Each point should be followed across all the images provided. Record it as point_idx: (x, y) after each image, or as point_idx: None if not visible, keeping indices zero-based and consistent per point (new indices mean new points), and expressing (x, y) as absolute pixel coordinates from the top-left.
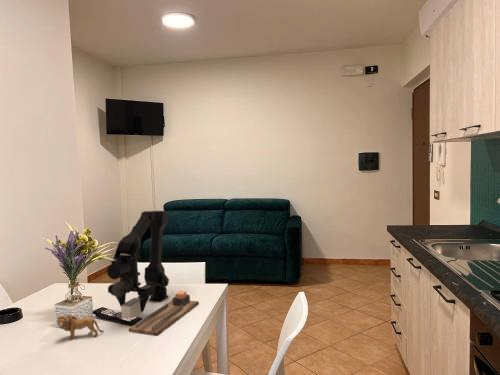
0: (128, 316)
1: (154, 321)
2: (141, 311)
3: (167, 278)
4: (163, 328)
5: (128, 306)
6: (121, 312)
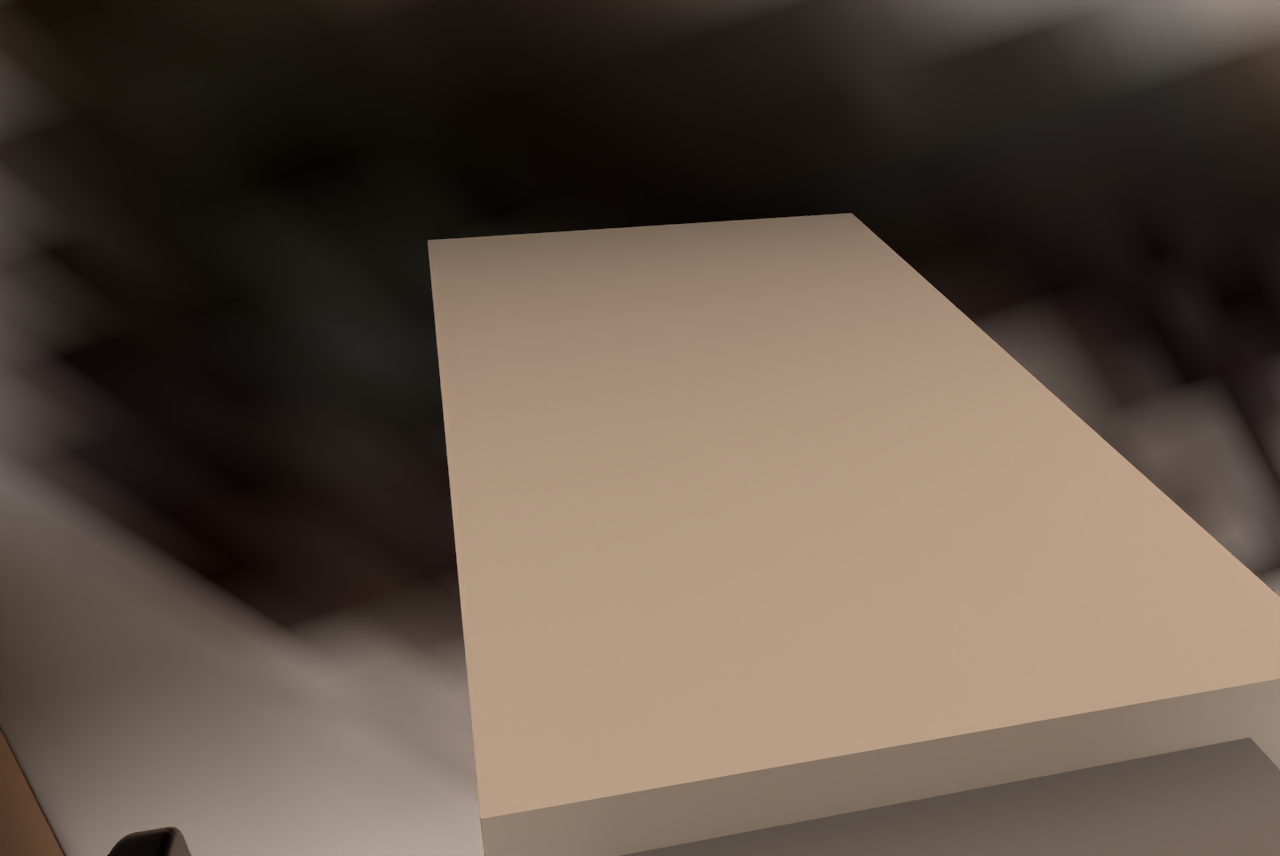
0: (546, 344)
1: None
2: (140, 843)
3: None
4: None
5: (660, 836)
6: (1044, 387)
